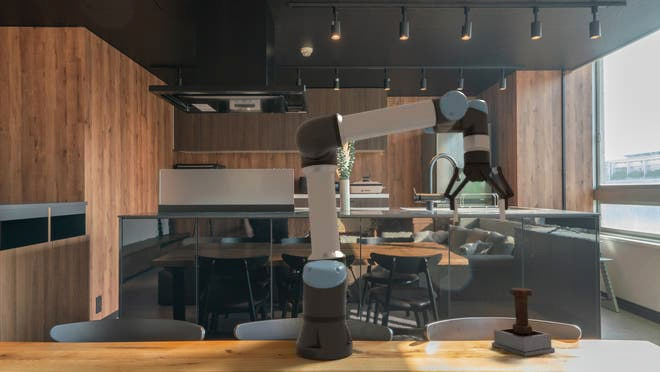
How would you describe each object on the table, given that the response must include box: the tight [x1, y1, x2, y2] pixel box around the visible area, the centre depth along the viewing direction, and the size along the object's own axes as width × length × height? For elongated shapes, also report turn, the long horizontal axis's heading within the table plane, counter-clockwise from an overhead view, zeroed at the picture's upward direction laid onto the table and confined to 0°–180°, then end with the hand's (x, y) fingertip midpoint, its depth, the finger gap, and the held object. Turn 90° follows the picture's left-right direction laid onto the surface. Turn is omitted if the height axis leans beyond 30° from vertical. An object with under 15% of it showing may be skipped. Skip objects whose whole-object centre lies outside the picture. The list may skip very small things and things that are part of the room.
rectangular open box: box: [491, 326, 556, 358], centre depth 113 cm, size 11×11×4 cm
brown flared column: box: [508, 287, 533, 337], centre depth 113 cm, size 6×5×15 cm
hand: (479, 221), depth 124 cm, fingers open, 13 cm apart
